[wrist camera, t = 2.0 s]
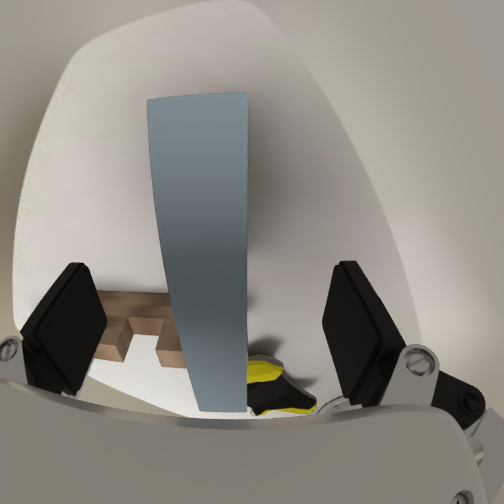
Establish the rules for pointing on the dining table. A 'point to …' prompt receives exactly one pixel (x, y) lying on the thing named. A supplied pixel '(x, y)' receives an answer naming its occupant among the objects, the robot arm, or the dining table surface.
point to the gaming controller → (274, 388)
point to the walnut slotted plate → (140, 326)
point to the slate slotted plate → (205, 235)
